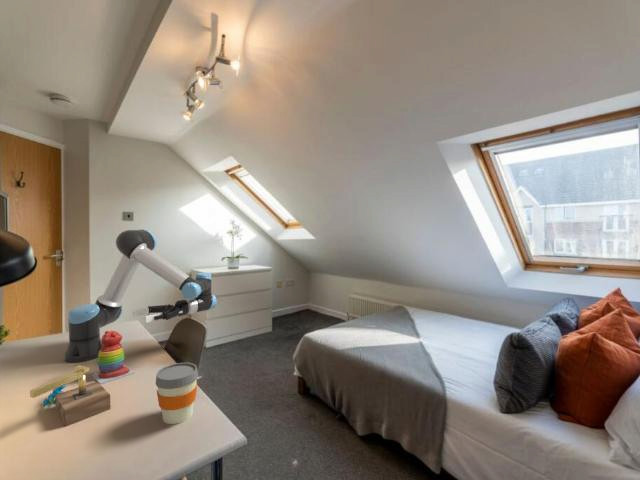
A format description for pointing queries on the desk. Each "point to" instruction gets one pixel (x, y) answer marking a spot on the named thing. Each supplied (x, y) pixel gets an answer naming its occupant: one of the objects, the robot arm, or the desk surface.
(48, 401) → the gear
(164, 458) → the desk surface
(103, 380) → the mat
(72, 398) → the lock block
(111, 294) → the robot arm
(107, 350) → the stacking bear
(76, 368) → the gold piece
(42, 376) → the desk surface
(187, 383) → the reusable coffee cup
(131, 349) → the desk surface
